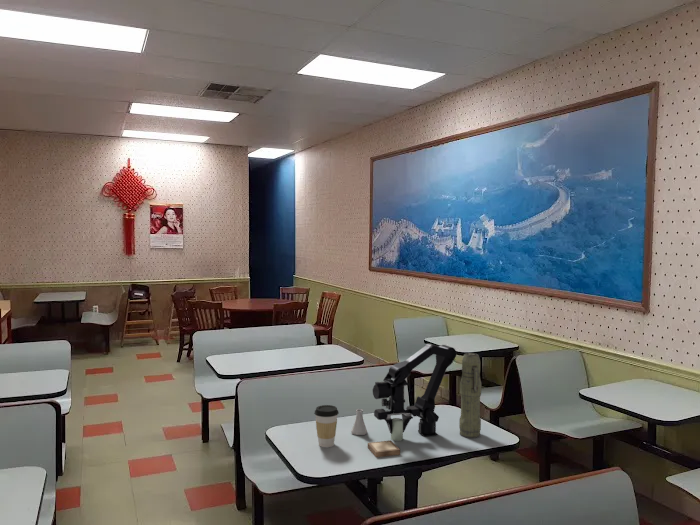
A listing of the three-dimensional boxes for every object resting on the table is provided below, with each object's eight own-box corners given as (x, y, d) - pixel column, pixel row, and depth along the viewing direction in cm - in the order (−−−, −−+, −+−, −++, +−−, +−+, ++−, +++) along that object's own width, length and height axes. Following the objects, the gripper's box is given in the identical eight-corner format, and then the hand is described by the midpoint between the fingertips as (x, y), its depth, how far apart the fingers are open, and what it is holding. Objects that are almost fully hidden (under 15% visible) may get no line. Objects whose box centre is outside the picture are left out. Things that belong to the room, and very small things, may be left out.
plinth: (390, 445, 229) (390, 440, 229) (400, 454, 220) (400, 449, 220) (367, 447, 226) (367, 442, 226) (375, 457, 217) (375, 452, 217)
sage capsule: (400, 436, 240) (400, 417, 239) (404, 440, 235) (404, 421, 234) (389, 437, 238) (389, 418, 238) (393, 441, 233) (393, 422, 233)
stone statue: (472, 428, 249) (473, 350, 247) (486, 438, 238) (487, 356, 236) (454, 430, 246) (455, 351, 244) (467, 440, 235) (468, 357, 233)
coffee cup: (341, 441, 233) (342, 406, 232) (333, 450, 223) (333, 413, 223) (319, 438, 236) (319, 403, 235) (310, 447, 227) (310, 410, 226)
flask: (366, 436, 239) (366, 413, 238) (349, 435, 240) (349, 412, 240) (369, 430, 246) (369, 408, 245) (352, 429, 247) (352, 406, 247)
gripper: (410, 389, 246) (409, 424, 247) (369, 392, 240) (369, 428, 241) (420, 396, 235) (420, 433, 236) (378, 400, 230) (378, 437, 231)
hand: (396, 432), depth 236 cm, fingers closed on sage capsule, 5 cm apart
